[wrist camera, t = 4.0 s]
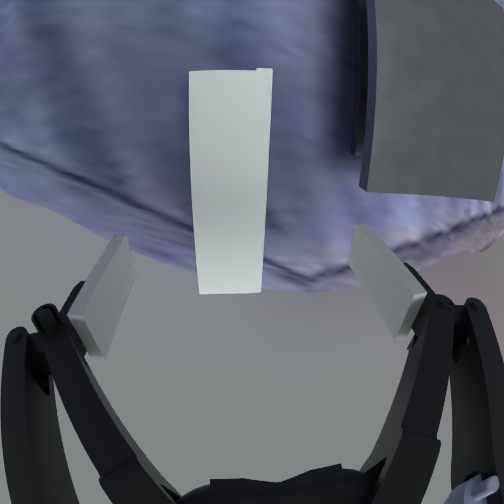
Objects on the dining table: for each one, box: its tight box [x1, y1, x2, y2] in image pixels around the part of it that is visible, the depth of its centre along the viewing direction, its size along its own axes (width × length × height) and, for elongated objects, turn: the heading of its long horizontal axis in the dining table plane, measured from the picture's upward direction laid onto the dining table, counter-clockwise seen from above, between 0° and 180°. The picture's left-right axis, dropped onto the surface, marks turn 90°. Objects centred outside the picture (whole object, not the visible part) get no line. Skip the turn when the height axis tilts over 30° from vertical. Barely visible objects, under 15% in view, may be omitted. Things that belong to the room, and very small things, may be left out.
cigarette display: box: [189, 68, 273, 294], centre depth 25 cm, size 20×6×9 cm, turn 178°
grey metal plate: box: [351, 0, 504, 202], centre depth 19 cm, size 18×24×10 cm
